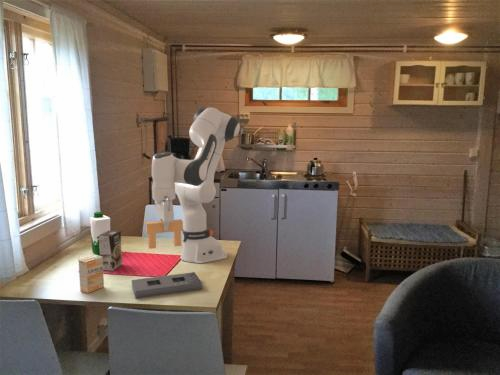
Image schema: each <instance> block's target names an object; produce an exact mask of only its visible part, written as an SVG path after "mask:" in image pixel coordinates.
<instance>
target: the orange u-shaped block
mask: <svg viewBox="0 0 500 375" xmlns="http://www.w3.org/2000/svg"><path fill="white" fill-rule="evenodd" d="M182 232H183V219H179V218H178V219H174V221H173V222H172V223H169V226H168V230H167V231H164V229H163V221H161V220H157V221H156V220H154V221H146V222H145V233H146V235H147V240H148V241H147V243H148V246H147V247H148V249H149V250H151V249H157V236H156V234H163V233H164V234H165V233H172V234H173V238H172V239H173V245H174V246H175V247H180V246H182Z"/></svg>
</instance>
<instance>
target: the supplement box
mask: <svg viewBox="0 0 500 375" xmlns="http://www.w3.org/2000/svg"><path fill="white" fill-rule="evenodd" d="M78 272H79V290H80V292H81V293H85V294H88V295H89V294H90V293H92V292H95V291H97V290H100V289H103V288H105V281H104V270H103V257H102V256H100V255H99V256H98V255H96V254H93V255H91V256H87V257H84V258H81V259H78Z"/></svg>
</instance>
